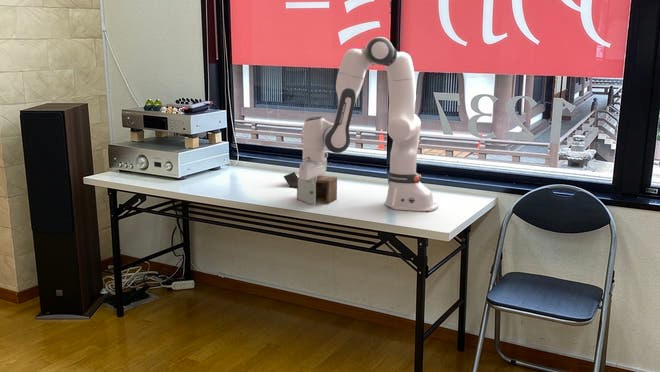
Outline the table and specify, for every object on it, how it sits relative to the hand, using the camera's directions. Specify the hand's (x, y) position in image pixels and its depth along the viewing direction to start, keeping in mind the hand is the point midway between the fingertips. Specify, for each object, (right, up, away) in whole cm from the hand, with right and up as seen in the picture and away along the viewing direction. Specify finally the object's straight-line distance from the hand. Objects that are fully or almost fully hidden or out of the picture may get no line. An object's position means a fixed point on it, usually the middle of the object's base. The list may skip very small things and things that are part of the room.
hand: (312, 187), depth 270 cm
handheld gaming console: (-8, 0, +36) cm, 37 cm away
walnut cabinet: (+2, -5, +8) cm, 10 cm away
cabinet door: (-3, -6, +1) cm, 7 cm away
